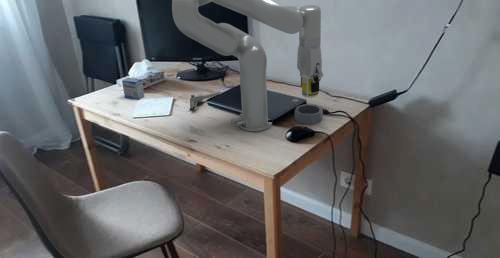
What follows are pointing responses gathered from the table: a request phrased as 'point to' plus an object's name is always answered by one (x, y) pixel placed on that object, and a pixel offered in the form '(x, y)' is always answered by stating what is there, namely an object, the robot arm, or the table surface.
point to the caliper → (200, 98)
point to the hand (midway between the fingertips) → (309, 88)
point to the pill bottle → (307, 86)
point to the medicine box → (133, 88)
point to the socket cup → (308, 114)
